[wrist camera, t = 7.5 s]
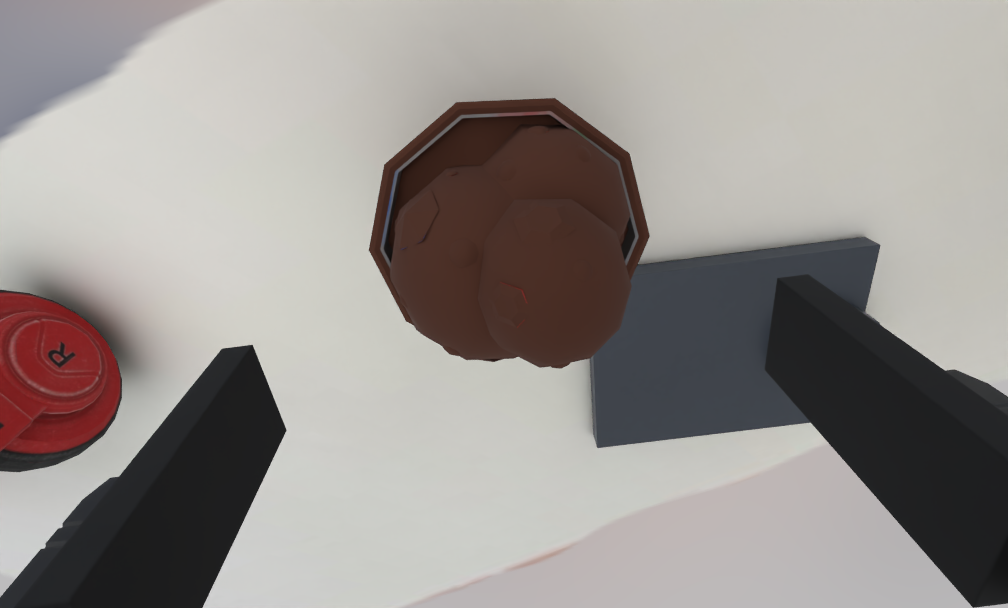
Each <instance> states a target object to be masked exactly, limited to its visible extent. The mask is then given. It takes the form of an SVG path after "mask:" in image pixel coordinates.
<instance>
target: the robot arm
mask: <svg viewBox="0 0 1008 608" xmlns="http://www.w3.org/2000/svg"><path fill="white" fill-rule="evenodd" d="M765 371H766V372H767V373H768V374H769V375H770V377H771V378H772V379H773V380H774V381H775V382H776V383H777V385H778V386H779V387H780V388H781V389H782V390H783V391H784V393H785V394H786V395H787V396H788V397H789V398H790V399H791V401H792V402H793V403H794V404H795V405H796V406H797V407H798V408H799V410H800V411H801V412H802V413H803V414H804V415H805V416H806V418H807V419H808V420H809V421H810V422H811V423H812V424H813V426H814V427H815V428H816V429H817V430H818V431H819V432H820V434H821V435H822V436H823V437H824V438H825V439H826V440H827V442H828V443H829V444H830V445H831V446H832V447H833V448H834V449H835V451H836V452H837V453H838V454H839V455H840V456H841V457H842V459H843V460H844V461H845V462H846V463H847V464H848V465H849V466H850V468H851V469H852V470H853V471H854V472H855V473H856V475H857V476H858V477H859V478H860V479H861V480H862V481H863V483H864V484H865V485H866V486H867V487H868V488H869V489H870V490H871V492H872V493H873V494H874V495H875V496H876V497H877V499H878V500H879V501H880V502H881V503H882V504H883V505H884V507H885V508H886V509H887V510H888V511H889V512H890V513H891V514H892V516H893V517H894V518H895V519H896V520H897V521H898V523H899V524H900V525H901V526H902V527H903V528H904V529H905V531H906V532H907V533H908V534H909V535H910V536H911V537H912V538H913V540H914V541H915V542H916V543H917V544H918V545H919V546H920V548H921V549H922V550H923V551H924V552H925V553H926V554H927V556H928V557H929V558H930V559H931V560H932V561H933V562H934V564H935V565H936V566H937V567H938V568H939V569H940V570H941V572H942V573H943V574H944V575H945V576H946V577H947V578H948V580H949V581H950V582H951V583H952V584H953V585H954V586H955V587H956V589H957V590H958V591H959V592H960V593H961V594H962V595H963V597H964V598H965V599H966V600H967V601H968V602H969V603H970V605H971V606H972V607H973V608H974V607H982V606H990V605H998V604H1006V603H1008V397H1007V396H1006V395H1004V394H1003V393H1001V392H1000V391H998V390H997V389H995V388H994V387H992V386H991V385H989V384H988V383H985V382H983V381H981V380H978V379H976V378H973V377H971V376H969V375H966V374H964V373H962V372H959V371H957V370H947V371H945V370H943V369H942V368H940V367H939V366H937V365H936V364H935V363H933V362H932V361H930V360H929V359H928V358H926V357H925V356H923V355H922V354H920V353H919V352H918V351H916V350H915V349H913V348H912V347H911V346H909V345H908V344H906V343H905V342H903V341H902V340H901V339H899V338H898V337H896V336H895V335H894V334H892V333H891V332H889V331H888V330H886V329H885V328H884V327H882V326H881V325H879V324H878V323H877V322H875V321H874V320H872V319H871V318H870V317H868V316H867V315H865V314H864V313H862V312H861V311H860V310H858V309H857V308H855V307H854V306H853V305H851V304H850V303H848V302H847V301H845V300H844V299H843V298H841V297H840V296H838V295H837V294H836V293H834V292H833V291H831V290H830V289H828V288H827V287H826V286H824V285H823V284H821V283H820V282H819V281H817V280H816V279H814V278H813V277H811V276H810V275H809V274H805V275H797V276H789V277H781V278H777V284H776V291H775V298H774V305H773V312H772V320H771V327H770V334H769V341H768V348H767V356H766V363H765ZM285 432H286V428H285V425H284V423H283V420H282V418H281V415H280V413H279V410H278V408H277V405H276V403H275V400H274V398H273V395H272V393H271V390H270V388H269V385H268V383H267V380H266V378H265V375H264V373H263V370H262V368H261V365H260V363H259V360H258V357H257V355H256V352H255V350H254V347H253V345H248V346H240V347H232V348H225V349H222V350H221V351H220V352H219V353H218V355H217V356H216V357H215V358H214V359H213V361H212V362H211V363H210V364H209V366H208V367H207V368H206V369H205V371H204V372H203V373H202V374H201V376H200V377H199V378H198V379H197V381H196V382H195V383H194V384H193V386H192V387H191V388H190V389H189V391H188V392H187V393H186V394H185V396H184V397H183V398H182V399H181V400H180V402H179V403H178V404H177V405H176V407H175V408H174V409H173V410H172V412H171V413H170V414H169V415H168V417H167V418H166V419H165V420H164V422H163V423H162V424H161V425H160V427H159V428H158V429H157V430H156V432H155V433H154V434H153V435H152V436H151V438H150V439H149V440H148V441H147V443H146V444H145V445H144V446H143V448H142V449H141V450H140V451H139V453H138V454H137V455H136V456H135V458H134V459H133V460H132V461H131V463H130V464H129V465H128V466H127V468H126V469H125V470H124V471H123V473H122V474H121V475H120V476H119V477H113V478H109V479H108V480H107V481H106V482H104V483H103V484H102V485H101V486H99V487H98V488H97V489H96V490H94V491H93V492H92V493H91V494H89V495H88V496H87V497H85V498H84V499H83V500H82V501H81V502H80V503H79V505H78V506H77V507H76V508H75V509H74V511H73V512H72V513H71V514H70V515H69V517H68V518H67V519H66V520H65V521H64V522H63V527H62V528H59V529H58V530H57V531H56V532H55V533H54V534H53V535H52V537H51V538H50V539H49V540H48V541H47V543H46V547H45V549H41V550H40V551H39V552H38V553H37V554H36V556H35V557H34V558H33V559H32V560H31V562H30V563H29V564H28V565H27V566H26V567H25V569H24V570H23V571H22V572H21V573H20V575H19V576H18V577H17V578H16V579H15V581H14V582H13V583H12V584H11V585H10V586H9V588H8V589H7V590H6V591H5V592H4V594H3V595H2V596H1V597H0V608H202V607H203V605H204V603H205V601H206V599H207V597H208V595H209V593H210V590H211V588H212V586H213V584H214V582H215V580H216V578H217V576H218V574H219V571H220V569H221V567H222V565H223V563H224V561H225V559H226V557H227V555H228V553H229V550H230V548H231V546H232V544H233V542H234V540H235V538H236V536H237V534H238V531H239V529H240V527H241V525H242V523H243V521H244V519H245V517H246V515H247V512H248V510H249V508H250V506H251V504H252V502H253V500H254V498H255V496H256V493H257V491H258V489H259V487H260V485H261V483H262V481H263V479H264V477H265V475H266V472H267V470H268V468H269V466H270V464H271V462H272V460H273V458H274V456H275V453H276V451H277V449H278V447H279V445H280V443H281V441H282V439H283V437H284V434H285Z"/></svg>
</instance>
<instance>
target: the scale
mask: <svg viewBox="0 0 1008 608" xmlns="http://www.w3.org/2000/svg"><path fill="white" fill-rule="evenodd" d="M879 249H880V245H879V244H877V243H876V242H874V241H872V240H870V239H868V238H866V237H861V238H853V239H845V240H837V241H828V242H820V243H812V244H804V245H796V246H788V247H780V248H772V249H764V250H756V251H748V252H740V253H732V254H724V255H716V256H708V257H700V258H692V259H684V260H675V261H667V262H659V263H651V264H643V265H637V267H636V269H635V271H634V274H633V276H632V278H631V281H630V282H631V285H632V287H631V291H630V295H629V298H628V302H627V305H626V309H625V313H624V316H623V320H622V323H621V327H620V329H619V330H618V331H617V332H616V333H615V334H614V335H613V336H612V337H611V338H610V339H609V340H608V341H607V342H606V343H605V344H604V345H603V346H602V347H601V348H600V349H599V350H598V351H597V352H596V353H595V354H594V355H593V356H592V357H591V358H590V370H591V391H592V413H593V434H594V438H595V441H596V445H597V448H601V447H610V446H618V445H626V444H635V443H643V442H651V441H660V440H668V439H677V438H685V437H693V436H702V435H710V434H718V433H727V432H735V431H743V430H752V429H760V428H769V427H777V426H785V425H794V424H802V423H810V421H809V420H808V419H807V418H806V416H805V415H804V414H803V413H802V412H801V411H800V410H799V408H798V407H797V406H796V405H795V404H794V403H793V402H792V401H791V399H790V398H789V397H788V396H787V395H786V394H785V393H784V391H783V390H782V389H781V388H780V387H779V386H778V385H777V383H776V382H775V381H774V380H773V379H772V378H771V377H770V375H769V374H768V373H767V372H766V371H765V363H766V356H767V348H768V341H769V334H770V327H771V320H772V312H773V305H774V298H775V291H776V284H777V278H781V277H789V276H797V275H805V274H809V275H810V276H811V277H813V278H814V279H816V280H817V281H819V282H820V283H821V284H823V285H824V286H826V287H827V288H828V289H830V290H831V291H833V292H834V293H836V294H837V295H838V296H840V297H841V298H843V299H844V300H845V301H847V302H848V303H850V304H851V305H853V306H854V307H855V308H857V309H858V310H860V311H861V312H862V313H864V314H865V315H867V316H868V317H870V318H871V319H872V320H874V321H875V322H877V323H878V324H879V322H878V321H877V320H875V319H874V318H872V317H871V316H870V315H868V314H867V313H865V309H866V305H867V301H868V296H869V292H870V288H871V283H872V279H873V275H874V270H875V266H876V262H877V257H878V253H879ZM879 325H880V324H879Z"/></svg>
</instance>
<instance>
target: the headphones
mask: <svg viewBox="0 0 1008 608" xmlns="http://www.w3.org/2000/svg"><path fill="white" fill-rule="evenodd" d="M121 398H122V378H121V374H120V371H119V367H118V363H117V360H116V358H115V356H114V355H113V353H112V351H111V349H110V347H109V345H108V344H107V342H106V341H105V340H104V338H103V337H102V336H101V335H100V334H99V333H98V331H97V330H96V329H95V328H94V327H93V326H92V325H90V324H89V323H88V322H87V321H85V320H84V319H83V318H81V317H80V316H79V315H78V314H76V313H75V312H73V311H71V310H70V309H68V308H66V307H64V306H62V305H60V304H58V303H56V302H54V301H52V300H49V299H46V298H42V297H39V296H36V295H33V294H30V293H23V292H14V291H6V290H0V471H8V472H22V471H27V470H33V469H39V468H45V467H49V466H53V465H56V464H58V463H61V462H63V461H65V460H68V459H70V458H72V457H74V456H77V455H79V454H80V453H82V452H83V451H84V450H86V449H87V448H88V447H89V446H91V445H92V444H93V443H94V442H96V441H97V440H98V439H99V438H101V437H102V436H103V435H104V434H105V432H106V431H107V430H108V428H109V427H110V425H111V424H112V422H113V421H114V420H115V417H116V414H117V411H118V408H119V405H120V402H121Z"/></svg>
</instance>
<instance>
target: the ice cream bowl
mask: <svg viewBox="0 0 1008 608" xmlns="http://www.w3.org/2000/svg"><path fill="white" fill-rule="evenodd" d="M648 239H649V232H648V228H647V223H646V219H645V215H644V211H643V207H642V203H641V199H640V195H639V191H638V187H637V183H636V179H635V175H634V171H633V167H632V162H631V158H630V154H629V153H628V152H626V151H625V150H624V149H622V148H621V147H620V146H618V145H617V144H616V143H614V142H613V141H612V140H610V139H609V138H608V137H606V136H605V135H604V134H602V133H601V132H600V131H598V130H597V129H596V128H594V127H593V126H591V125H590V124H589V123H587V122H586V121H585V120H583V119H582V118H581V117H579V116H578V115H577V114H575V113H574V112H573V111H571V110H570V109H569V108H567V107H566V106H565V105H563V104H562V103H560V102H559V101H558V100H556V99H555V98H549V99H525V100H502V101H479V102H456V103H455V104H454V105H453V106H452V107H451V108H449V109H448V110H447V111H446V112H445V113H444V114H443V115H441V116H440V117H439V118H438V119H437V120H436V121H434V122H433V123H432V124H431V125H430V126H429V127H427V128H426V129H425V130H424V131H423V132H422V133H421V134H419V135H418V136H417V137H416V138H415V139H414V140H412V141H411V142H410V143H409V144H408V145H407V146H406V147H404V148H403V149H402V150H401V151H400V152H399V153H397V154H396V155H395V156H394V157H393V158H392V159H390V160H389V161H388V162H387V163H386V164H385V165H384V170H383V175H382V181H381V186H380V192H379V197H378V203H377V209H376V214H375V220H374V225H373V231H372V236H371V242H370V247H369V251H370V253H371V255H372V257H373V259H374V261H375V262H376V264H377V266H378V268H379V270H380V272H381V274H382V276H383V278H384V280H385V282H386V284H387V285H388V287H389V289H390V291H391V293H392V295H393V297H394V299H395V301H396V303H397V305H398V306H399V308H400V310H401V312H402V314H403V316H404V318H405V320H406V321H407V322H409V323H411V324H412V325H414V326H415V328H416V330H418V331H419V332H420V333H421V334H423V335H424V336H426V337H428V338H429V339H431V340H433V341H434V342H436V343H438V344H440V345H441V346H443V348H444V349H445V350H446V351H447V352H448V353H449V354H451V355H456V356H460V357H462V358H464V359H466V360H484V361H491V362H495V361H498V360H502V359H509V358H516V357H520V358H522V359H524V360H526V361H528V362H530V363H532V364H534V365H536V366H538V367H549V366H551V367H552V368H563V367H565V366H567V365H569V364H570V362H575V361H579V360H584V359H589V358H591V357H592V356H593V355H594V354H595V353H596V352H597V351H598V350H599V349H600V348H601V347H602V346H603V345H604V344H605V343H606V342H607V341H608V340H609V339H610V338H611V337H612V336H613V335H614V334H615V333H616V332H617V331H618V330H619V329H620V327H621V323H622V320H623V316H624V313H625V309H626V305H627V302H628V298H629V295H630V291H631V287H632V285H631V282H630V281H631V278H632V276H633V274H634V271H635V269H636V267H637V264H638V262H639V260H640V257H641V255H642V253H643V250H644V248H645V246H646V243H647V241H648Z"/></svg>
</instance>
